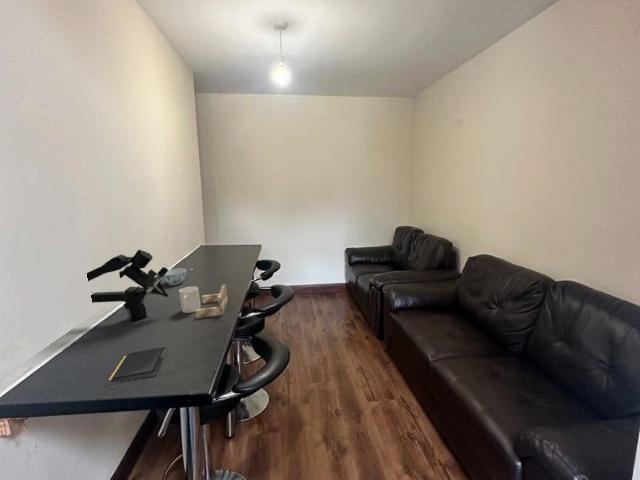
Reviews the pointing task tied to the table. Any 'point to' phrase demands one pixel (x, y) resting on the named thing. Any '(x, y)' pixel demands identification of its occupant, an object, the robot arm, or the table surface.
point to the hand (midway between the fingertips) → (167, 296)
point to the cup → (189, 299)
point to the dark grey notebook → (138, 365)
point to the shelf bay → (214, 298)
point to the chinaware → (174, 276)
